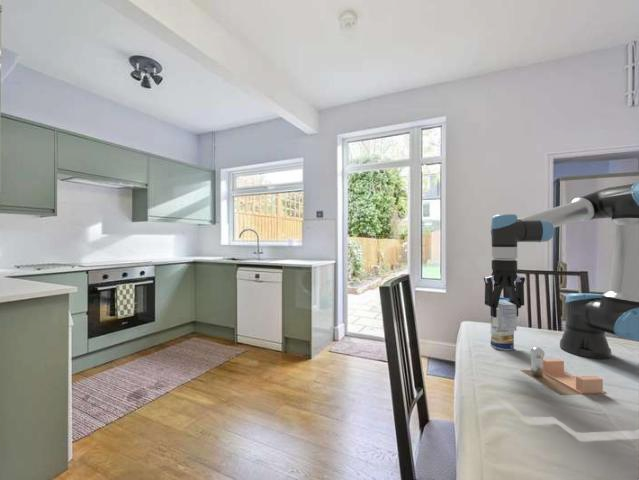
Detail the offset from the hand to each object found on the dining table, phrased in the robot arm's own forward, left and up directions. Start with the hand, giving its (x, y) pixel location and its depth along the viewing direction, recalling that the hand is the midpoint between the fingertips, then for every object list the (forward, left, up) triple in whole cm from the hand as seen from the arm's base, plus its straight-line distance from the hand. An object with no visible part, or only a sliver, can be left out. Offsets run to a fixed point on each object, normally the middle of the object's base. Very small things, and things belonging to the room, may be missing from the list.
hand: (504, 326), depth 100 cm
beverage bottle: (-12, -18, -15) cm, 26 cm away
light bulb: (-4, +9, -13) cm, 16 cm away
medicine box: (0, 0, -1) cm, 1 cm away
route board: (-9, +12, -14) cm, 21 cm away
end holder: (-11, +13, -13) cm, 22 cm away
